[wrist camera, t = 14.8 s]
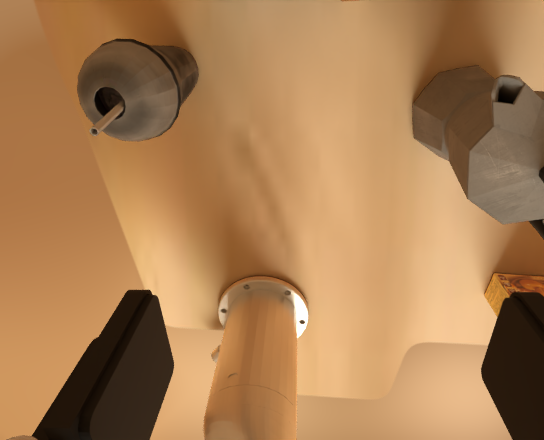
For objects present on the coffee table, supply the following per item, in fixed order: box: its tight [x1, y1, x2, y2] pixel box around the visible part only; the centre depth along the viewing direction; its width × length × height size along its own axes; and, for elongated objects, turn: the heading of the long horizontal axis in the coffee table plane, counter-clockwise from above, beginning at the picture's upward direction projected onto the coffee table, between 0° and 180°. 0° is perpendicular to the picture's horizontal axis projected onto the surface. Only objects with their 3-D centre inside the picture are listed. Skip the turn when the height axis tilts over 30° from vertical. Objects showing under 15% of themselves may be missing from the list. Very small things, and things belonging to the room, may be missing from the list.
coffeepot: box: [413, 65, 544, 239], centre depth 31 cm, size 15×9×18 cm, turn 34°
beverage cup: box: [77, 39, 199, 141], centre depth 29 cm, size 7×7×20 cm
